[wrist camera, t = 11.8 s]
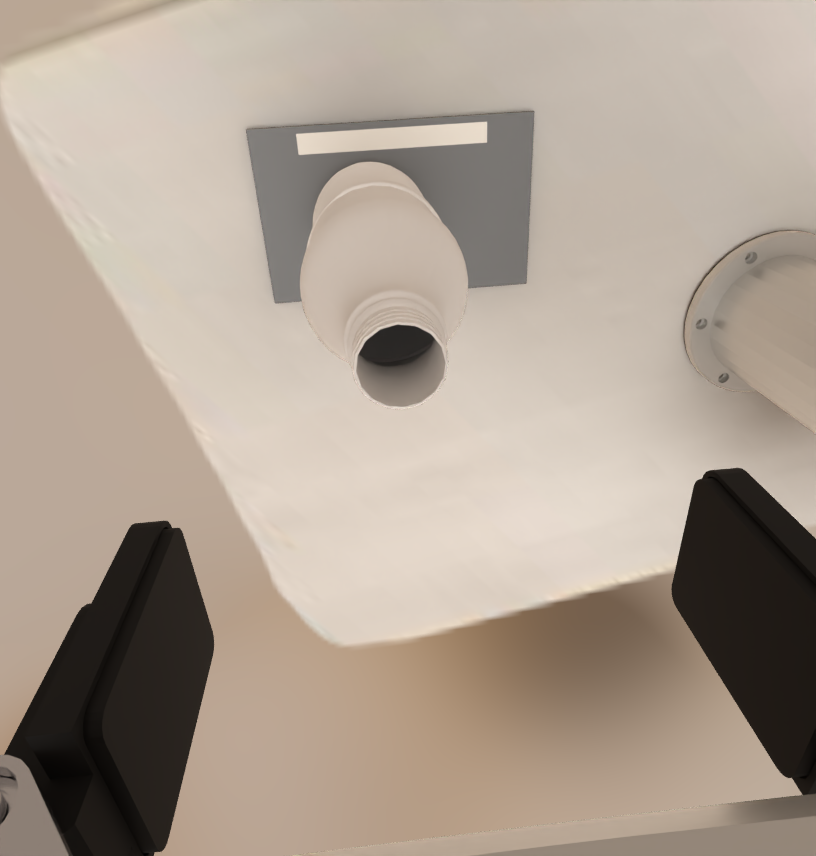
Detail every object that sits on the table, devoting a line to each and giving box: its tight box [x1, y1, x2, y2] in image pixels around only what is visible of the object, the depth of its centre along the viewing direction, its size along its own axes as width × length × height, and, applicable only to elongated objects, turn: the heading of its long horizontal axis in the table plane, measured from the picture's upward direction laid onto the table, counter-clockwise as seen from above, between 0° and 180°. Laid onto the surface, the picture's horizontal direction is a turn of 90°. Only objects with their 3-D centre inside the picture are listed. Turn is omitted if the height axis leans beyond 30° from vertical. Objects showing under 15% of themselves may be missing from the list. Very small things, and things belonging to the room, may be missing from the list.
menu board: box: [246, 111, 534, 303], centre depth 41 cm, size 18×11×1 cm, turn 93°
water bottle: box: [300, 162, 468, 409], centre depth 29 cm, size 7×7×25 cm
